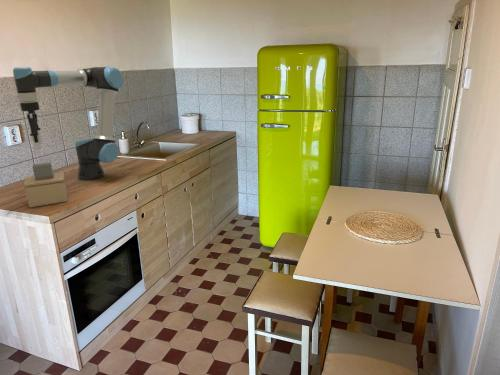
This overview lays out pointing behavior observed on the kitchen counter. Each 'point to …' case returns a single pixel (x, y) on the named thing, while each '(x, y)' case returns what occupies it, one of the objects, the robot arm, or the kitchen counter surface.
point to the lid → (44, 180)
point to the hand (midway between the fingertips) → (38, 146)
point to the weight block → (43, 171)
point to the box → (46, 194)
